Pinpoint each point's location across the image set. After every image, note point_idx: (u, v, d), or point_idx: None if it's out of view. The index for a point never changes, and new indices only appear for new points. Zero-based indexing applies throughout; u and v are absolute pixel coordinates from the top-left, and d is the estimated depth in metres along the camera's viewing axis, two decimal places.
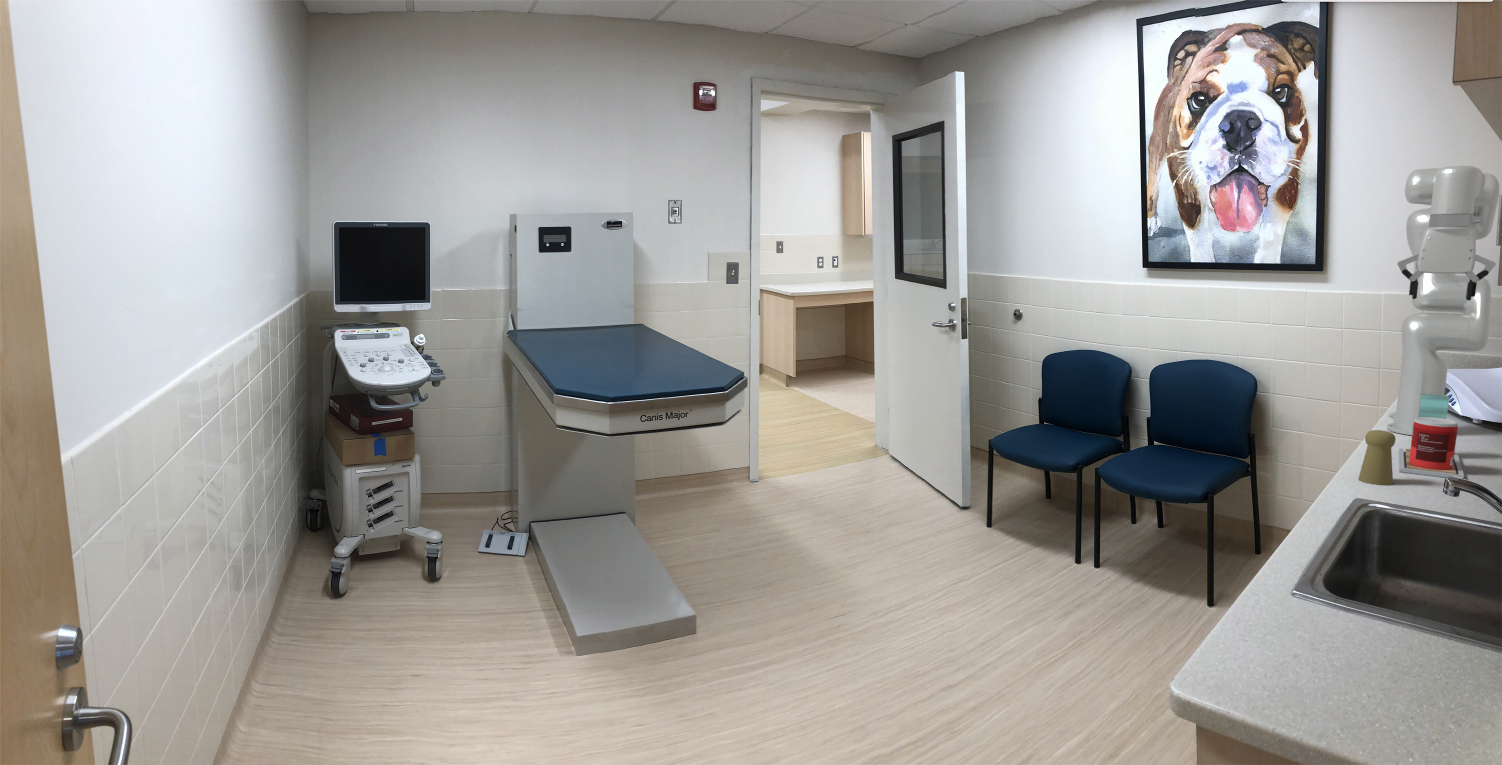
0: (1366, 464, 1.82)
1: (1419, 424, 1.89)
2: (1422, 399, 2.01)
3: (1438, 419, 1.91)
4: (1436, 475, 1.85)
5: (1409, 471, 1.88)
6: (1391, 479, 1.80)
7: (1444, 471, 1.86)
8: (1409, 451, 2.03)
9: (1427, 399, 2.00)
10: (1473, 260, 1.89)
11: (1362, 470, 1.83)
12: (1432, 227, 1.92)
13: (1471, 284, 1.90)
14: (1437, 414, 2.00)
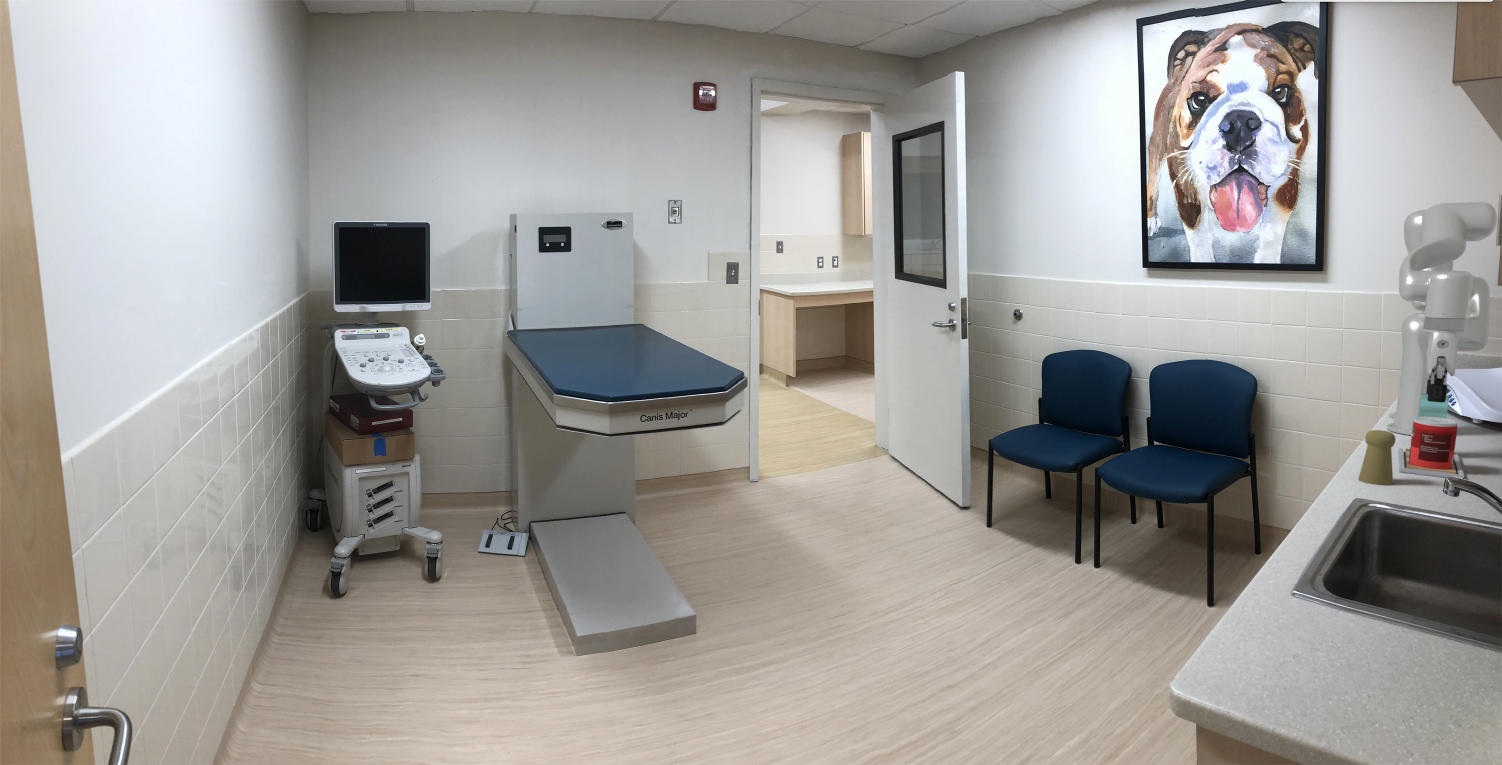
0: (1366, 464, 1.82)
1: (1421, 425, 1.89)
2: (1422, 399, 2.01)
3: (1435, 418, 1.92)
4: (1436, 475, 1.85)
5: (1409, 471, 1.88)
6: (1391, 479, 1.80)
7: (1444, 470, 1.86)
8: (1409, 451, 2.04)
9: (1427, 398, 2.01)
10: (1430, 362, 1.96)
11: (1362, 470, 1.83)
12: None
13: (1429, 385, 1.96)
14: (1437, 413, 2.00)
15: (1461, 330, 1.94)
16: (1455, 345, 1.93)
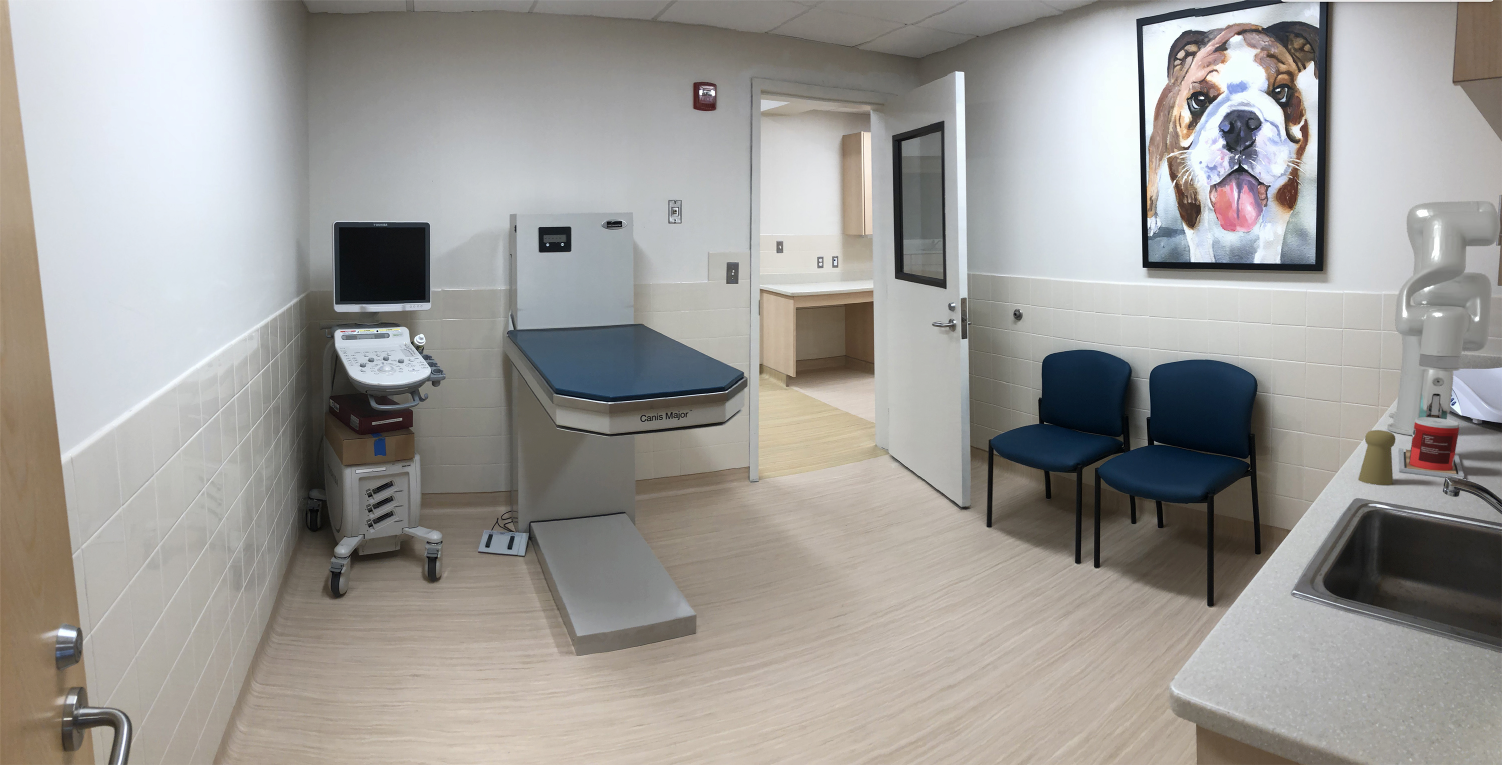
0: (1366, 464, 1.82)
1: (1422, 426, 1.88)
2: (1422, 399, 2.00)
3: (1436, 419, 1.91)
4: (1436, 475, 1.85)
5: (1409, 471, 1.88)
6: (1391, 479, 1.80)
7: (1444, 472, 1.85)
8: (1409, 452, 2.03)
9: None
10: (1425, 399, 1.97)
11: (1362, 470, 1.83)
12: None
13: None
14: None
15: (1456, 367, 1.95)
16: (1450, 383, 1.94)
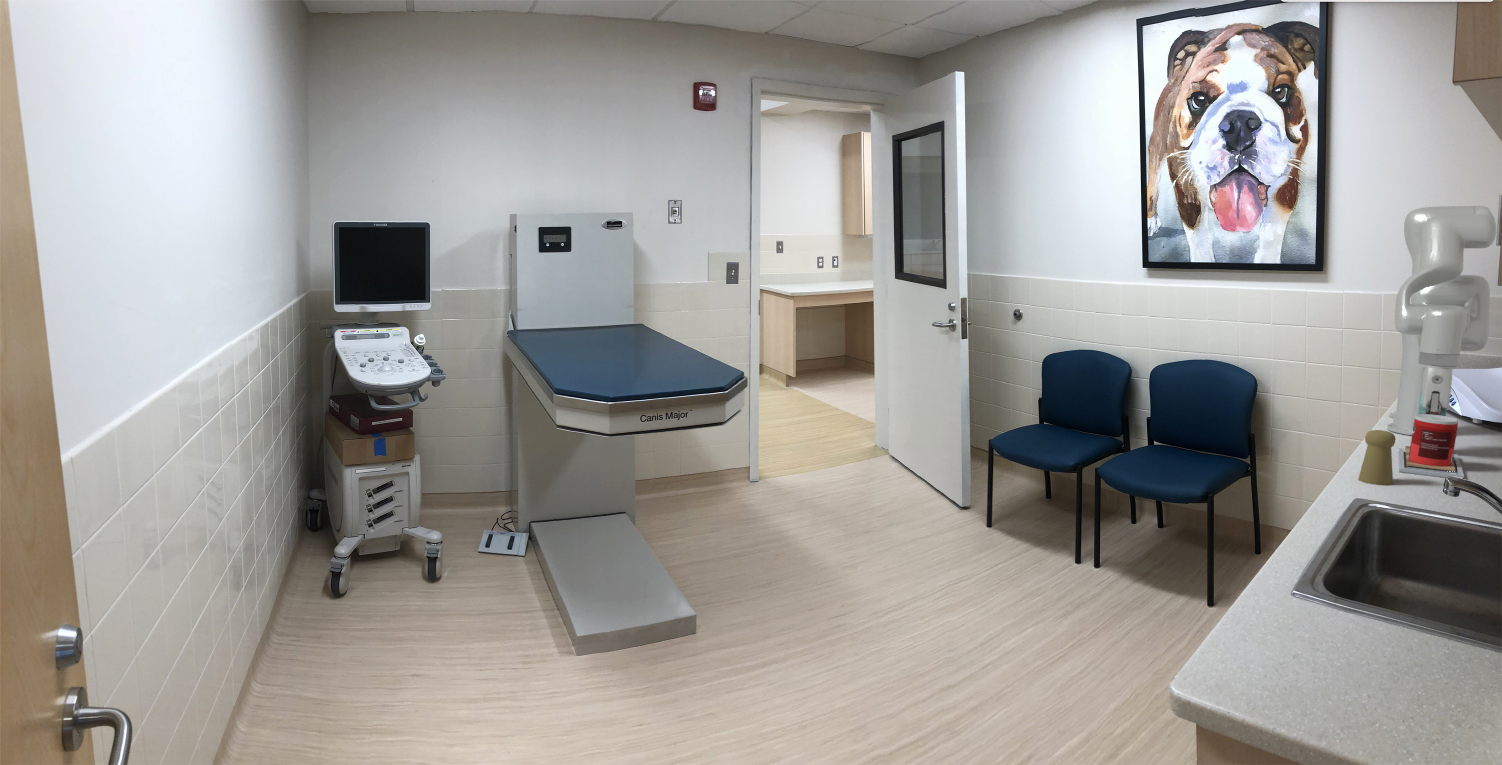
0: (1366, 464, 1.82)
1: (1422, 422, 1.91)
2: None
3: (1436, 416, 1.94)
4: (1436, 475, 1.85)
5: (1409, 471, 1.88)
6: (1391, 479, 1.80)
7: (1443, 467, 1.89)
8: (1409, 448, 2.06)
9: None
10: (1424, 397, 2.01)
11: (1362, 470, 1.83)
12: None
13: None
14: None
15: (1455, 365, 1.99)
16: (1449, 380, 1.98)
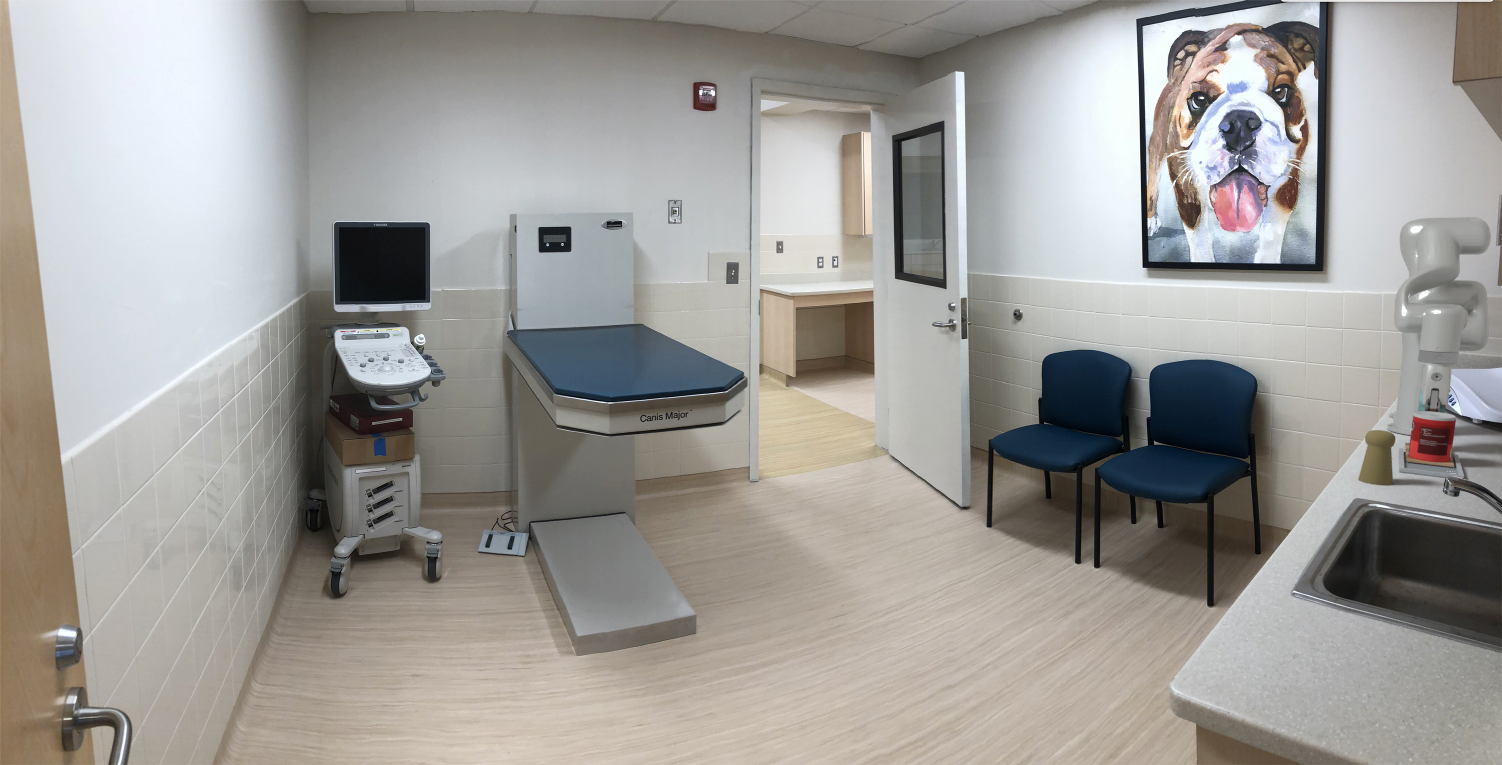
0: (1366, 464, 1.82)
1: (1420, 419, 1.94)
2: (1421, 394, 2.07)
3: (1434, 413, 1.98)
4: (1436, 475, 1.85)
5: (1409, 471, 1.88)
6: (1391, 479, 1.80)
7: (1442, 463, 1.92)
8: None
9: None
10: (1424, 394, 2.04)
11: (1362, 470, 1.83)
12: None
13: None
14: None
15: (1454, 363, 2.02)
16: (1448, 378, 2.01)
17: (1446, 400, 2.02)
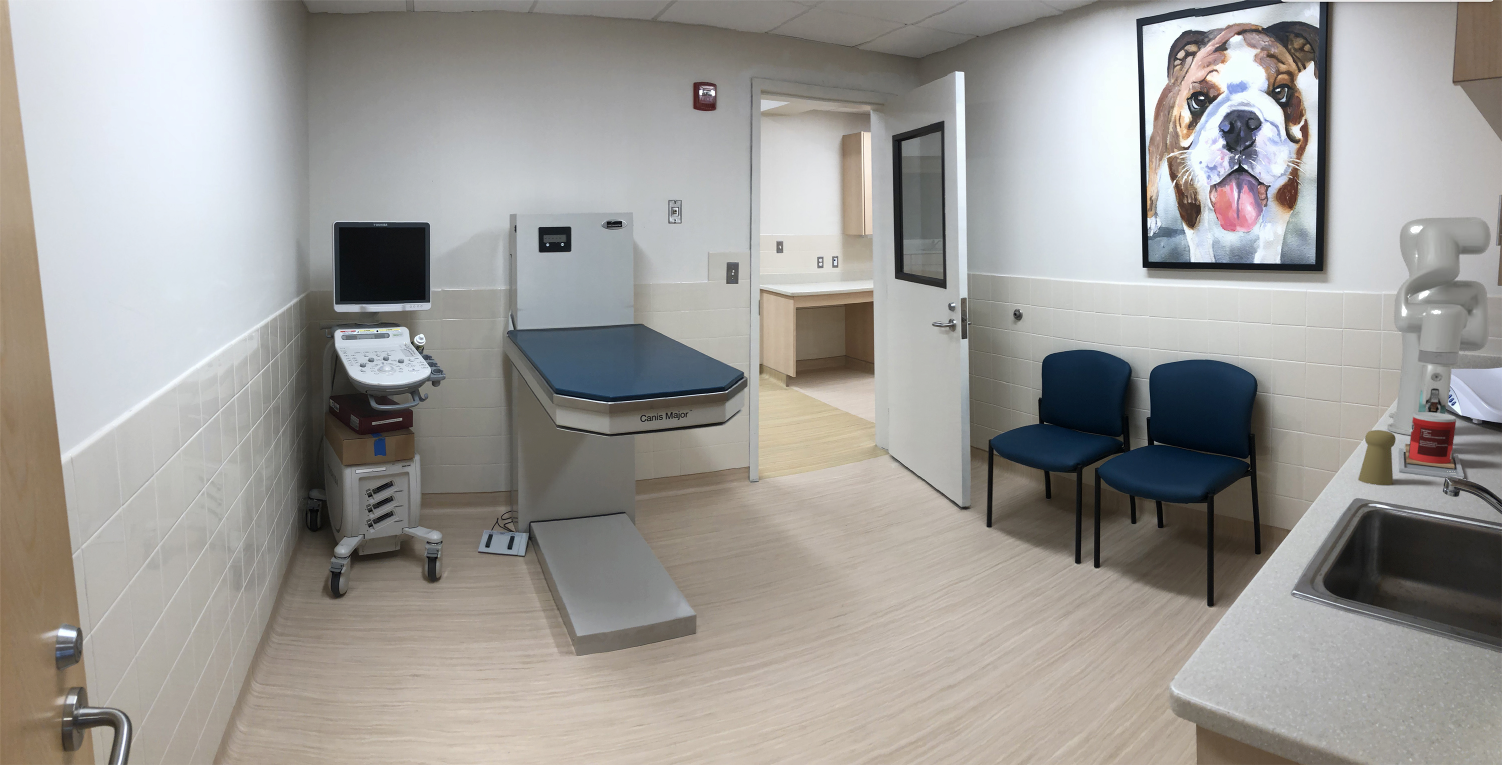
0: (1366, 464, 1.82)
1: (1420, 420, 1.93)
2: (1421, 395, 2.06)
3: (1434, 414, 1.97)
4: (1436, 475, 1.85)
5: (1409, 471, 1.88)
6: (1391, 479, 1.80)
7: (1443, 465, 1.91)
8: None
9: None
10: (1424, 394, 2.04)
11: (1362, 470, 1.83)
12: None
13: None
14: None
15: (1454, 363, 2.02)
16: (1448, 378, 2.01)
17: (1446, 400, 2.02)
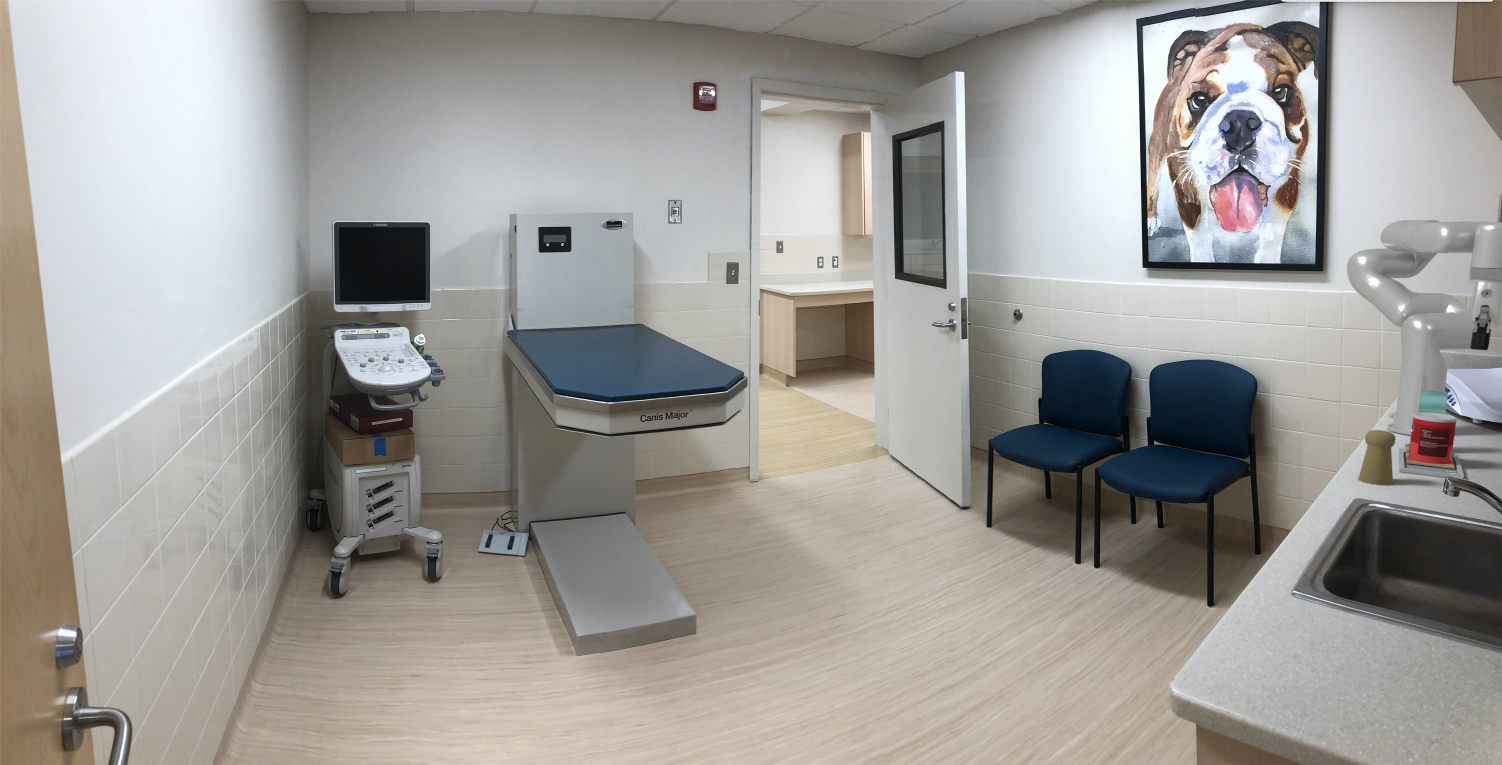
0: (1366, 464, 1.82)
1: (1420, 420, 1.93)
2: (1421, 395, 2.06)
3: (1434, 414, 1.96)
4: (1436, 475, 1.85)
5: (1409, 471, 1.88)
6: (1391, 479, 1.80)
7: (1443, 465, 1.91)
8: (1409, 446, 2.08)
9: (1426, 395, 2.05)
10: (1473, 311, 2.01)
11: (1362, 470, 1.83)
12: None
13: (1472, 334, 2.02)
14: (1436, 409, 2.04)
15: None
16: (1499, 294, 1.98)
17: (1496, 317, 1.99)
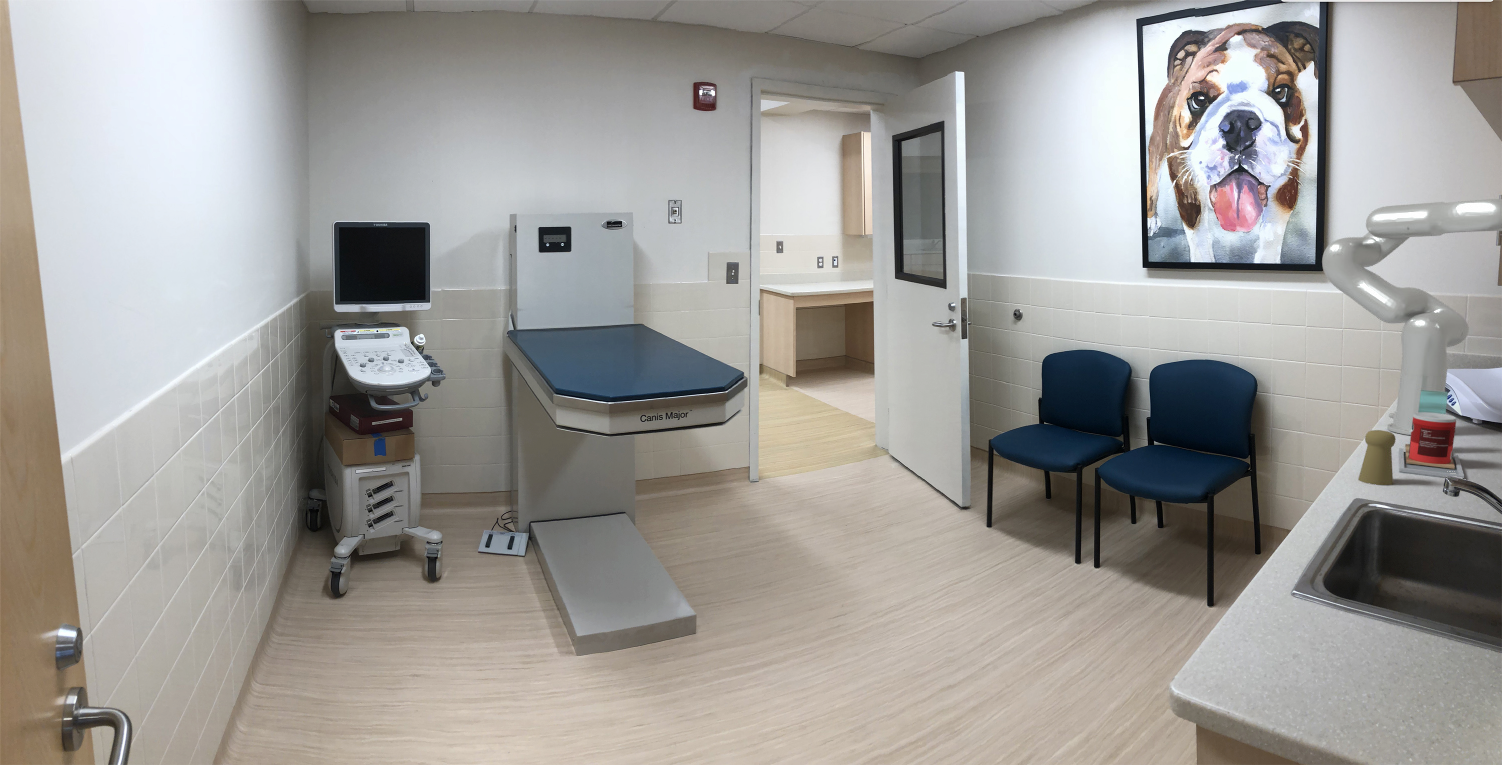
0: (1366, 464, 1.82)
1: (1420, 420, 1.93)
2: (1421, 395, 2.06)
3: (1434, 414, 1.96)
4: (1436, 475, 1.85)
5: (1409, 471, 1.88)
6: (1391, 479, 1.80)
7: (1443, 465, 1.91)
8: (1409, 446, 2.08)
9: (1426, 395, 2.05)
10: None
11: (1362, 470, 1.83)
12: None
13: None
14: (1436, 409, 2.04)
15: None
16: None
17: None
